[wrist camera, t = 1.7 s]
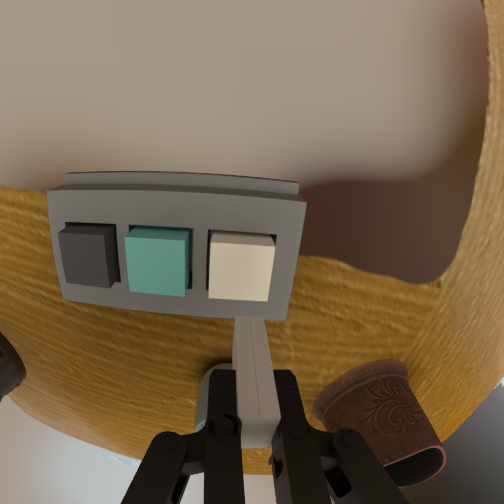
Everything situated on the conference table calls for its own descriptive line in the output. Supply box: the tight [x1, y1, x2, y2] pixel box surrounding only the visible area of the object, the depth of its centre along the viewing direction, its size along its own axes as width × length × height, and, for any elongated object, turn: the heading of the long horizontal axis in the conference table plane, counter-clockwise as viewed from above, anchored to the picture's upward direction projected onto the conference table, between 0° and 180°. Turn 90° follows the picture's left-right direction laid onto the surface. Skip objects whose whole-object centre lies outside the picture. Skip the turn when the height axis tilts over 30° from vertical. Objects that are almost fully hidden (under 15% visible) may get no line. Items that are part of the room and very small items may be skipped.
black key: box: [58, 223, 120, 289], centre depth 22 cm, size 5×5×3 cm
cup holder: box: [313, 359, 446, 488], centre depth 28 cm, size 18×24×25 cm
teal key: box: [125, 226, 190, 297], centre depth 23 cm, size 5×5×3 cm
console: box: [47, 171, 307, 321], centre depth 25 cm, size 24×14×4 cm, turn 84°
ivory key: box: [209, 230, 275, 301], centre depth 23 cm, size 5×5×3 cm
